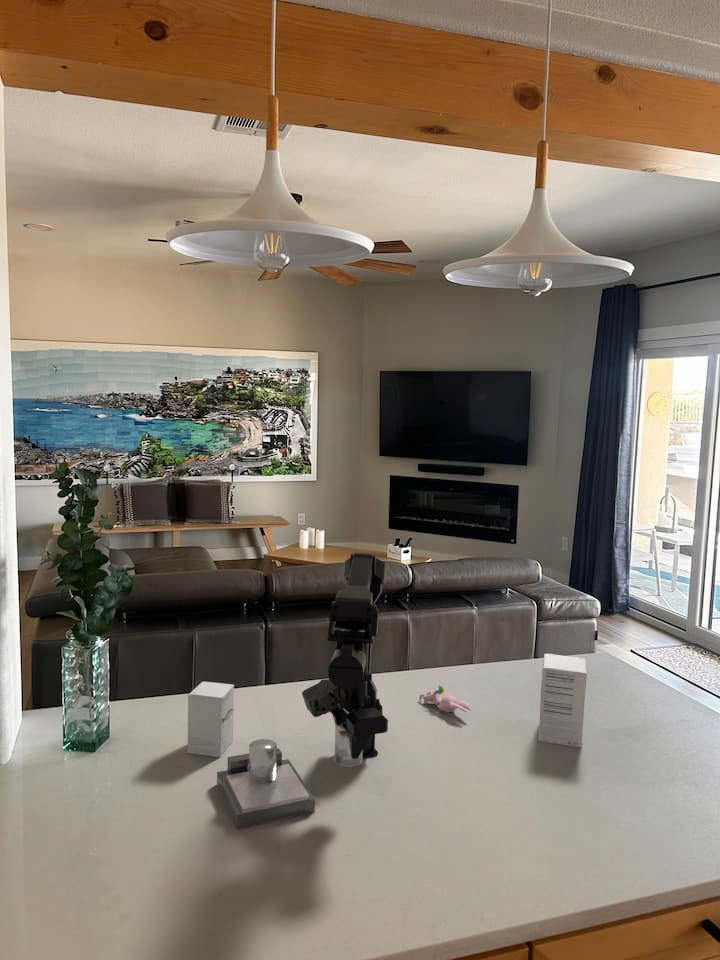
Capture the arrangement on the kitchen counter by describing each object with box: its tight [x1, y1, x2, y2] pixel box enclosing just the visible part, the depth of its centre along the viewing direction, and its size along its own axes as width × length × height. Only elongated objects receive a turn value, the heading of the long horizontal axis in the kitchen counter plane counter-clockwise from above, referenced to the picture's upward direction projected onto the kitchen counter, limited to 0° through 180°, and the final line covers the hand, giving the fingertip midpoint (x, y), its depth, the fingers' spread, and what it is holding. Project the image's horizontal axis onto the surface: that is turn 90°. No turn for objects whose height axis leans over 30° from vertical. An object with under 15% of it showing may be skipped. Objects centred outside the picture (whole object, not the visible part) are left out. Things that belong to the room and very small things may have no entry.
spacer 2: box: [333, 721, 364, 768], centre depth 127 cm, size 5×5×6 cm
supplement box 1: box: [186, 681, 235, 758], centre depth 148 cm, size 7×7×13 cm
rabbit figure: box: [419, 684, 472, 713], centre depth 170 cm, size 6×6×15 cm
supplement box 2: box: [538, 653, 588, 748], centre depth 158 cm, size 10×9×17 cm
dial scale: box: [216, 747, 316, 829], centre depth 130 cm, size 14×15×5 cm
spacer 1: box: [248, 738, 278, 784], centre depth 132 cm, size 5×5×6 cm
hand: (348, 751), depth 127 cm, fingers closed on spacer 2, 5 cm apart
